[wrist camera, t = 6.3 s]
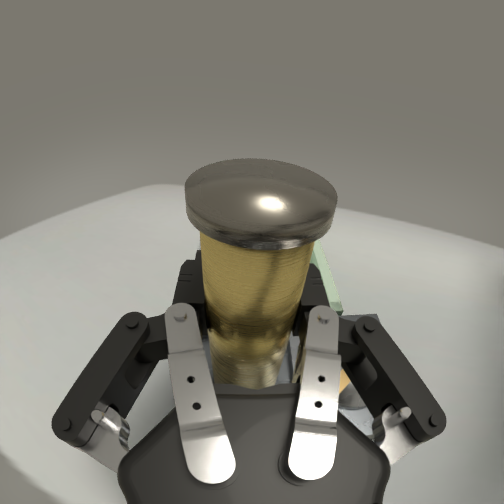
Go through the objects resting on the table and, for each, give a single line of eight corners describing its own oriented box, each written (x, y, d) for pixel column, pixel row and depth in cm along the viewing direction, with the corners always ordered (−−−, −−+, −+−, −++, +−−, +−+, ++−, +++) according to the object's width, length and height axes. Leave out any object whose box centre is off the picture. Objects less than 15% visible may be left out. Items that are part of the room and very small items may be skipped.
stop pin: (279, 345, 18) (317, 163, 11) (285, 408, 15) (359, 228, 7) (209, 344, 18) (197, 157, 10) (205, 408, 14) (168, 221, 6)
